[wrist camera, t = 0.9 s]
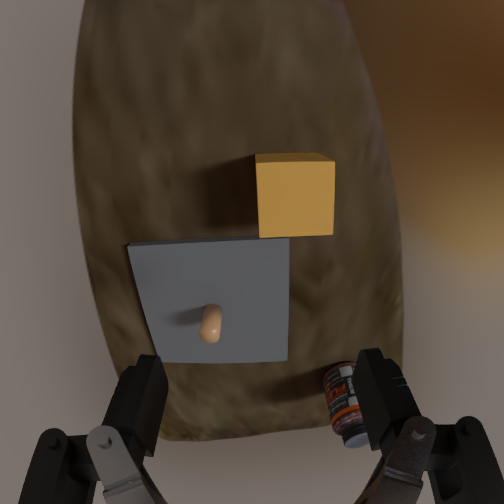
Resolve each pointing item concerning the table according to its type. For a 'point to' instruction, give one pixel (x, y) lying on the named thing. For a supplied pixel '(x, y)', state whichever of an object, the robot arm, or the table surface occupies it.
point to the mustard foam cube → (295, 194)
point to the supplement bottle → (344, 405)
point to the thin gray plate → (215, 298)
